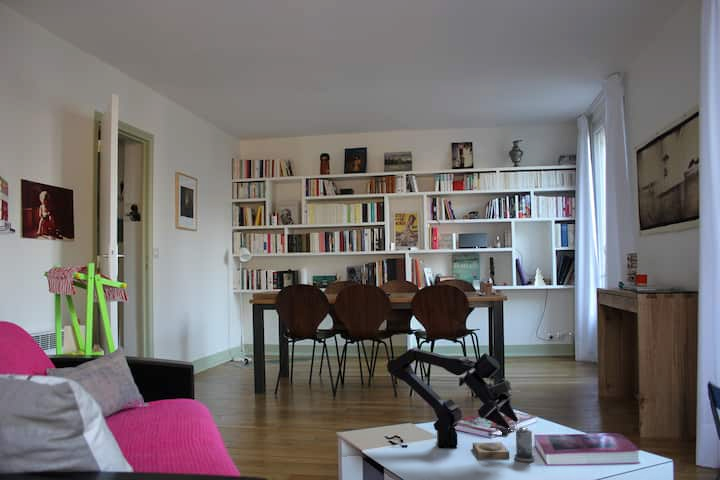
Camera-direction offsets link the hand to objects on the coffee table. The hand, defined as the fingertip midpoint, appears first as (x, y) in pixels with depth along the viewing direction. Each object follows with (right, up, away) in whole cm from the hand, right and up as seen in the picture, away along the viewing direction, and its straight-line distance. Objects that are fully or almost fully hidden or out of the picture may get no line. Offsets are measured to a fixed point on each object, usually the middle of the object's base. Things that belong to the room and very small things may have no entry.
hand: (513, 424), depth 182 cm
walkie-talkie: (+5, -13, +32) cm, 35 cm away
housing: (+3, -11, -2) cm, 11 cm away
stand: (-7, -11, +4) cm, 13 cm away
